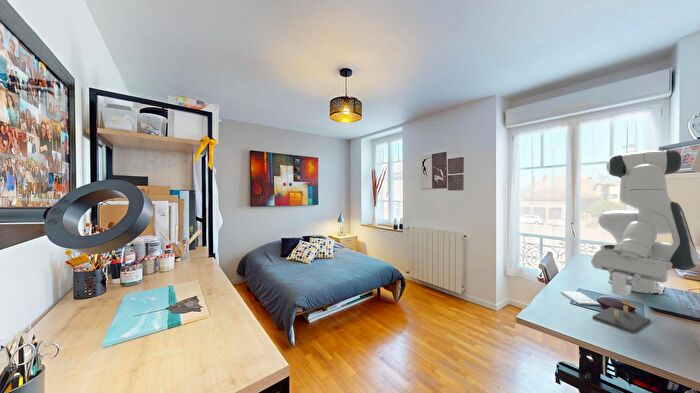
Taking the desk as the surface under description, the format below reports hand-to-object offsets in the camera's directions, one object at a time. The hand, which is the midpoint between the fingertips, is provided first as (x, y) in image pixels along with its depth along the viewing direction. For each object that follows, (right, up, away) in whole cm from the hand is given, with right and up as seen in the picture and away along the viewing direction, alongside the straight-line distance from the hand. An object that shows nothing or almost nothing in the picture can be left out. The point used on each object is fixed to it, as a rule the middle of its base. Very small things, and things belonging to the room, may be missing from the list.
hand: (620, 282), depth 95 cm
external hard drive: (+2, -15, +19) cm, 25 cm away
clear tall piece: (+1, -4, 0) cm, 4 cm away
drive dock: (+1, -15, +1) cm, 15 cm away
